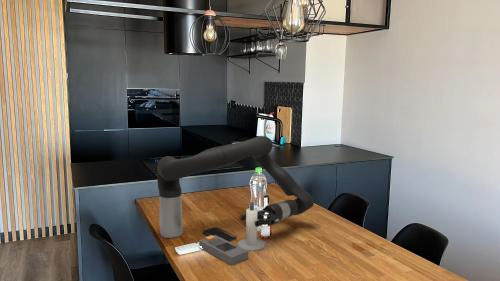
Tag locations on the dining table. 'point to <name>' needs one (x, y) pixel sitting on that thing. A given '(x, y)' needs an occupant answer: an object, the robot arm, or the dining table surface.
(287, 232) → the dining table surface
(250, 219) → the white and grey cylinder
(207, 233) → the phone
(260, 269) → the dining table surface
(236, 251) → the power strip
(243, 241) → the pad
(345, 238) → the dining table surface
